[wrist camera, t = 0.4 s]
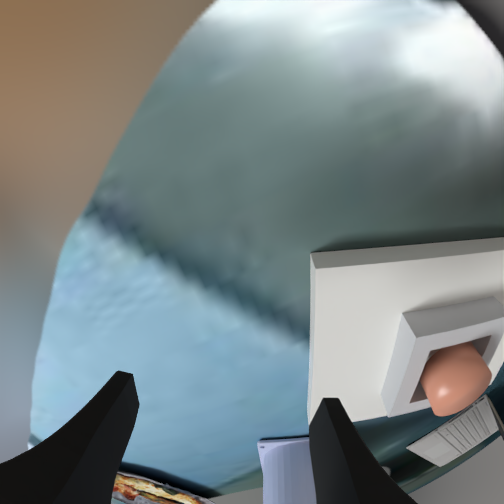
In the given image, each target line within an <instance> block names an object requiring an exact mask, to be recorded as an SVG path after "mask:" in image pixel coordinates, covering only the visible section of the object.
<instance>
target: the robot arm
mask: <svg viewBox="0 0 504 504" xmlns="http://www.w3.org/2000/svg"><path fill="white" fill-rule="evenodd" d="M138 409H139V400H138V396H137V392H136V387H135V382H134V377H133V374H131V373H126V372H122V371H117V372H116V373H115V374H114V375H113V376H112V377H111V378H110V379H109V381H108V382H107V383H106V384H105V385H104V386H103V387H102V388H101V390H100V391H99V392H98V393H97V394H96V395H95V396H94V397H93V398H92V399H91V400H90V401H89V402H88V403H87V404H86V405H85V406H84V407H83V408H82V409H81V410H80V411H79V412H78V413H77V414H76V415H75V416H74V417H73V418H71V419H70V420H69V421H68V422H67V423H66V424H65V425H64V426H62V427H61V428H60V429H59V430H57V431H56V432H55V433H54V434H52V435H51V436H50V437H48V438H47V439H45V440H44V441H42V442H41V443H39V444H38V445H36V446H35V447H33V448H31V449H30V450H28V451H26V452H24V453H22V454H20V455H18V456H16V457H15V458H13V459H11V460H8V461H6V462H3V463H1V464H0V504H111V499H112V493H113V489H114V484H115V479H116V476H117V472H118V469H119V466H120V464H121V461H122V458H123V455H124V453H125V450H126V447H127V445H128V442H129V439H130V437H131V434H132V431H133V428H134V425H135V421H136V417H137V413H138ZM257 445H258V451H259V456H260V461H261V466H262V471H263V504H418V503H416V502H415V501H414V500H413V499H412V498H411V497H410V496H409V495H408V494H406V493H405V492H404V491H403V490H402V489H401V488H400V487H399V486H398V485H397V484H396V483H395V482H394V481H393V480H392V478H391V477H390V476H389V475H388V474H387V473H386V472H385V470H384V469H383V468H382V467H381V465H380V464H379V463H378V461H377V460H376V459H375V457H374V456H373V454H372V453H371V452H370V450H369V449H368V447H367V446H366V444H365V443H364V441H363V439H362V438H361V436H360V435H359V433H358V431H357V430H356V428H355V426H354V425H353V423H352V421H351V420H350V418H349V416H348V414H347V412H346V411H345V409H344V407H343V405H342V403H341V401H340V399H339V398H323V399H322V401H321V403H320V405H319V407H318V409H317V411H316V413H315V415H314V417H313V419H312V421H311V423H310V425H309V437H304V438H293V439H278V440H260V441H258V443H257Z"/></svg>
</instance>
